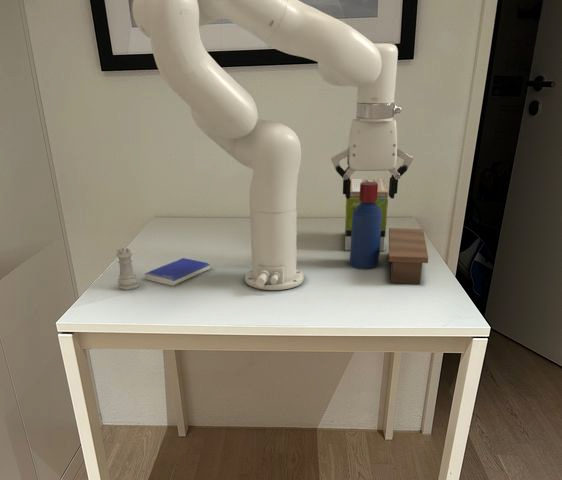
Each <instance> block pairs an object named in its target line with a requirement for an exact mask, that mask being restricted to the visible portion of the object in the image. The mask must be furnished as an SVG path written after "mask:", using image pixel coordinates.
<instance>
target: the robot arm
mask: <svg viewBox="0 0 562 480" xmlns="http://www.w3.org/2000/svg"><path fill="white" fill-rule="evenodd" d="M131 10H132V11H131V12H132V17H133V20H134V22H135V25H136V27H137V28H138V29H139V31H140V32H141V33H142V34H143V35H144V36H146V37H147V38H149V39H150V44H151V49H152V50H151V51H152V54H153V58H154V62H155V65H156V67H157V69H158V71H159V74H160V75H161V77H162V79H163V81H164V82H165V83H166V84H167V85H168V87H169V88H170V89H171V90H172V91H173V92H174V93H175V94H176V95H177V96H178V97H179V98H181V100H182V101H184V103H186V104H187V105H188V106H189V108H190V113H191V117H192V119H193V121H194V123H195V125H196V126H197V128H199V129H200V131H201V132H203V134H204V135H206V136H207V137H208V138H209V139H210V140H212V141H213V142H214V143H215V144H216V145H217V146H218V147H220V148H221V149H222V150H223V151H224V152H226V153H227V154H228V155H229V156H230V157H232V158H233V159H234V160H235V161H236V162H238V163H239V164H241V165H243V166H245V167H246V168H249V169H252V175H251V180H250V187H249V217H250V219H249V220H250V244H251V245H250V247H251V250H250V251H251V270H250V271H248V272H247V273H246V274H245V277H244V279H245V283H246V284H247V285H248V286H250V287H252V288H255V289H259V290H265V291H283V290H289V289H293V288H296V287H298V286H300V285H301V284H302V283H303V282H304V280H305V279H304V278H305V277H304V276H305V275H304V273H303V272H302V271H301V270H299V269H297V234H298V233H297V227H298V226H297V223H298V222H297V220H298V219H297V218H298V217H297V214H298V212H297V208H298V207H297V206H298V205H297V200H298V199H297V197H298V196H297V195H298V194H297V193H298V180H299V179H298V178H299V173H300V166H301V161H302V146H301V142H300V139H299V137H298V134H296V133H295V131H294V130H293V129H292V128H291V127H289V126H287V125H286V124H283V123H282V122H281V123H280V122H277V121H272V120H266V119H262V118H260V117H259V115H258V106H257V104H256V102H255V100H254V99H253V97H252V95H251V94H250V93H249V92H248V91H247V90H246V89H245V88H244V87H243V86H242V85H241V84H240V83H238V82H237V81H236V80H235V79H234V78H233V77H232V76H231V75H229V73H227V71H226V70H225V69H224V68H222V67H221V66H220V65H219V64H218V62H217V61H216V60H215V59H214V58H213V57H212V56H211V55H210V54H209V52H208V51H207V50H206V48H205V46H204V44H203V42H202V39H201V33H200V28H201V27H203V26H205V25H208V24H210V23H213V22H215V21H218V20H225V19H226V20H228V21H230V22H232V23H233V24H234V25H237V26H238V27H239V28H241V29H242V30H245V31H246V32H248V33H249V34H251V35H253V36H254V37H256V38H258V39H259V40H260V41H262V42H263V43H265V44H266V45H268V46H270V47H271V48H273V49H275V50H277V51H278V52H279V51H280V52H282V53H285V54H288V55H291V56H296V57H301V58H304V59H308V60H311V61H314V62H317V70H318V74H319V75H320V77H321V78H322V80H323V81H324V82H326V84H329V85H332V86H334V87H335V86H337V87H350V88H357V94H356V113H355V114H356V115H355V116H356V118H353V119H352V120H351V123H350V128H349V135H348V143H347V148H346V149H344V150H343V151H341V152H339V153H337V154H335V155H333V156H332V157H331V158H330V160H331V162H332V165H333V167H334V170H335V171H336V173H337V174H338V175H339V176H340V177H341V178H342V195H345V200H346V199H349V198H350V188H351V180H350V179H351V176H352V175H353V174H354V173H355V171H356V172H382V171H383V172H385V171H389V173H390V174H391V176H390V177H389V185H388V198H390V199H395V195H396V194H398V187H399V186H398V185H399V180H400V179H401V177H402V176H403V175H404V174H405V173H406V172H407V171H408V169H409V168H410V165H411V164H412V163H413V160H414V158H413V156H411V155H409V154H408V153H406V152H405V151H402V150H400V149H399V148H398V128H397V120H396V118H394V117H395V115H396V114H401V111H402V107H401V105H397V104H396V103H395V96H396V95H395V94H396V85H397V83H396V81H397V70H398V56H399V50H398V47H397V45H396V44H394V43H387V42H386V43H385V42H384V43H381V42H380V43H378V42H377V43H376V42H375V43H373V42H372V41H371V40H370V39H369V38H367V37H366V36H365V35H363V34H362V33H360V32H359V31H358V30H356V29H354V27H352V26H350V25H349V24H347V23H346V22H344V21H341V20H340V19H338V18H336V17H333V16H332V15H329V14H327V13H325V12H323V11H321V10H319V9H317V8H315V7H313V6H311V5H309V4H307V3H304V2H303V1H300V0H133V1H132V7H131ZM398 157H399V158H401V159H402V160H403V162H402V164H401V165H400V166H399V167H398V168H397V169H396V166H397V159H398ZM344 159H346V163H347V167H346V168H345V169H343V167H342V166H341V164H340V161H342V160H344Z"/></svg>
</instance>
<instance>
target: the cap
mask: <svg viewBox="0 0 562 480" xmlns="http://www.w3.org/2000/svg"><path fill="white" fill-rule="evenodd" d="M377 190H378V183H376V182H362V183H360V197H359V200H360V201H361V202H368V203H370V202H376V201H377Z"/></svg>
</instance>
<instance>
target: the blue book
mask: <svg viewBox="0 0 562 480" xmlns="http://www.w3.org/2000/svg"><path fill="white" fill-rule="evenodd" d="M210 265H211V264H210V263H208V262H204V261H200V260H196V259H190V258H185V257H182V258H180V259H177V260H175V261H172V262H170V263H167V264H165V265H162V266H159V267H157V268H154V269H152V270H150V271H147V272H145V273H144V279H146V280H148V281H152V282H156V283H160V284H163V285H168V286H176V285H178V284H179V283H182V282H184V281H186V280H188V279H190V278H193V277H195V276H197V275H200V274H202V273H204V272H206V271H207V270H208V271H209V270H210V268H211V266H210Z"/></svg>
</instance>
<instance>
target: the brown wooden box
mask: <svg viewBox="0 0 562 480" xmlns="http://www.w3.org/2000/svg"><path fill="white" fill-rule="evenodd" d="M388 262H389V263H390V268H391V269H390V273H391V275H390V276H391V277H390V279H391V284H402V285H403V284H405V285H406V284H407V285H421V280H422V270H423V264H428V263H429V253H428V249H427V242H426V237H425V231H424V228H406V227H405V228H404V227H403V228H401V227H400V228H399V227H389V228H388Z"/></svg>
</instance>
